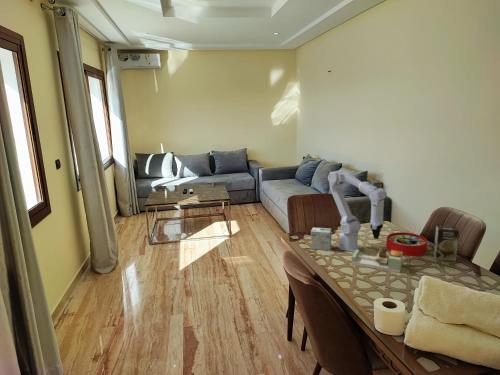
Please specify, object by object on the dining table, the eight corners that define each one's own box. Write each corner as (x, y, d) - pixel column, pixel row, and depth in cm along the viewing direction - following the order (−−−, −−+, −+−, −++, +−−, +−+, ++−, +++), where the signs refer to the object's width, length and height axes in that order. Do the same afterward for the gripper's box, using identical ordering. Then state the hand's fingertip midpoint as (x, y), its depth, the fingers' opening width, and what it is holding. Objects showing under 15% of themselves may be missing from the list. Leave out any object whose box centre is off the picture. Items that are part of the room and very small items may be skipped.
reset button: (389, 265, 163) (389, 253, 162) (390, 261, 167) (391, 249, 166) (400, 267, 161) (400, 255, 160) (401, 263, 165) (401, 251, 164)
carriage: (375, 263, 165) (375, 250, 163) (378, 257, 172) (378, 244, 170) (386, 265, 162) (387, 251, 161) (388, 259, 169) (389, 245, 168)
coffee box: (435, 259, 171) (438, 229, 167) (433, 254, 176) (435, 225, 173) (456, 261, 168) (459, 230, 164) (453, 256, 174) (456, 226, 170)
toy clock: (383, 231, 195) (421, 232, 192) (383, 241, 197) (420, 242, 193) (391, 245, 176) (433, 246, 172) (390, 256, 177) (432, 257, 174)
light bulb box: (331, 246, 193) (331, 228, 190) (330, 250, 186) (330, 232, 184) (312, 244, 196) (312, 226, 194) (310, 249, 190) (310, 230, 188)
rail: (351, 264, 170) (351, 252, 168) (356, 256, 178) (356, 244, 177) (399, 272, 159) (400, 260, 158) (401, 264, 168) (402, 251, 166)
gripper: (383, 217, 163) (382, 244, 166) (387, 209, 175) (386, 234, 178) (367, 216, 166) (367, 242, 169) (373, 208, 179) (372, 232, 182)
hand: (376, 238), depth 174 cm, fingers closed
